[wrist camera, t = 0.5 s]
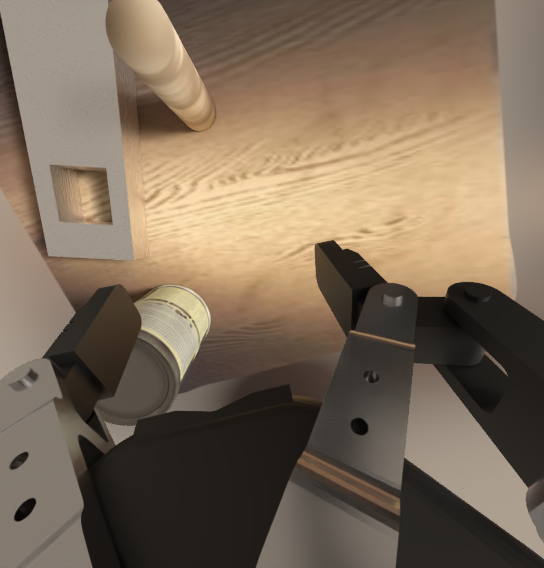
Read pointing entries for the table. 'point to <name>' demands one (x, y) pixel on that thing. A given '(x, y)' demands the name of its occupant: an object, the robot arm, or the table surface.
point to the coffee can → (158, 354)
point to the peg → (159, 59)
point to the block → (77, 124)
